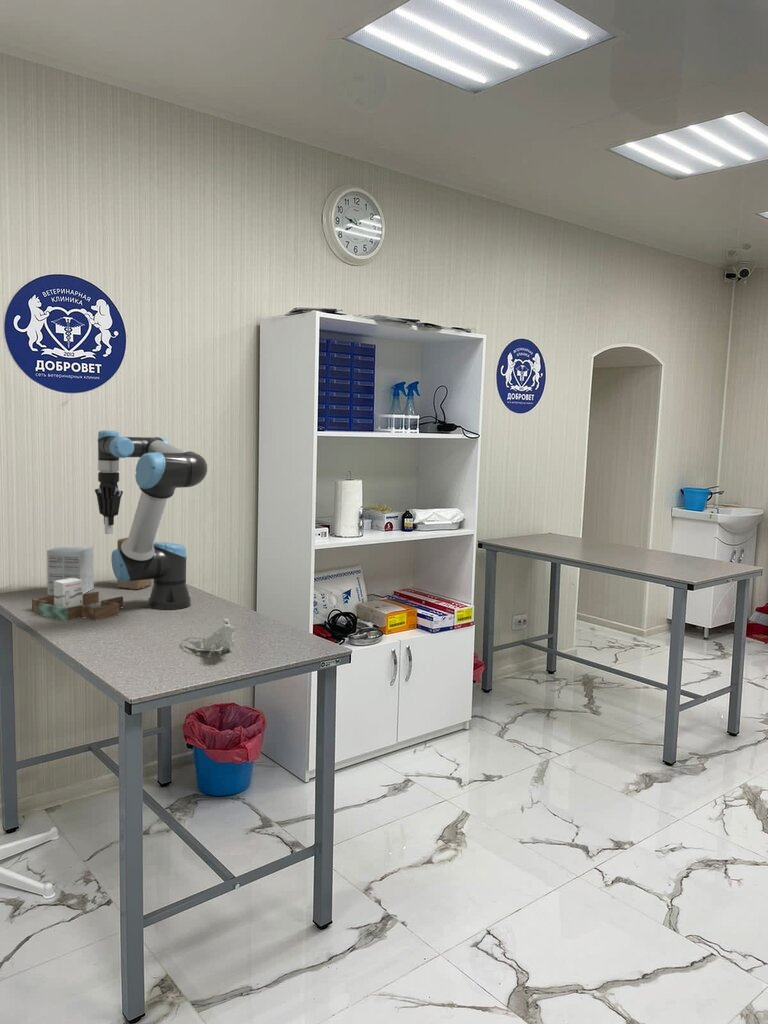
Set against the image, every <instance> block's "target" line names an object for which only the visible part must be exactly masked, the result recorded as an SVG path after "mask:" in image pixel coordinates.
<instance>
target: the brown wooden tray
mask: <svg viewBox="0 0 768 1024" xmlns="http://www.w3.org/2000/svg"><path fill="white" fill-rule="evenodd" d="M99 593H100V592H99V591H94V592H92V591H91V592H88V593H86V594H83V605H78V606H74V607H69V608H63V607H59V606H54V595H47V596H41V597H36V598H32V599H31V611H33V610H36V611H35V612H38V611H39V612H38V615H39V614H41V615H40V616H43V615H45V616H44V617H47V616H48V618H51V617H53V618H52V619H56V618H57V620H60V619H61V621H64V620H67V621H70V619H71V620H75V619H79V618H78V617H80V618H83V617H86V618H85V619H88V618H90V619H89V620H92V619H94V620H93V621H97V620H96V619H99V620H102V619H101V618H103V619H106V618H105V617H107V618H110V617H109V616H111V617H114V615H115V616H119V615H120V609H122V608H121V607H123V608H124V596H118V597H112V598H107V599H102V600H100V594H99ZM96 602H100V606H98V607H96V606H95V607H94V606H91V605H92V604H91V603H94V604H97V603H96ZM87 604H89V605H87ZM118 614H119V615H118ZM74 618H75V619H74Z"/></svg>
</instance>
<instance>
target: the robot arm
mask: <svg viewBox="0 0 768 1024" xmlns="http://www.w3.org/2000/svg"><path fill="white" fill-rule="evenodd" d="M97 458H98V459H97V470H98V471H99V472H98V474H97V482H99V483H100V484H99V487H98V488H95V489H94V492H95V495H96V499H97V505H98V506H97V507H98V512H99V514H100V515H102V516H103V524H104V534H105V535H111V534H112V535H113V534H114V524H115V519H114V518H115V517H116V516H118V515H119V512H120V510H119V509H120V505H121V500H122V499H121V498H122V495H123V493H124V491H123V490H120V489H119V486H118V483H119V482H120V472H119V471H120V459H124V458H138V460H137V463H136V465H135V466H136V467H135V475H134V476H135V482H136V484H137V486H138V488H139V490H140V491H141V493H140V497H139V500H138V502H137V503H138V504H137V507H136V510H135V514H134V517H133V520H132V524H131V527H130V530H129V531H130V532H129V534H128V536H127V538H128V539H126V540H125V541H124V542H123V543H122V545H121V549H118V548H116V549H114V550H112V552H111V559H110V562H111V567H112V572H113V574H114V577H115V579H116V580H117V582H118V581H120V582H131V581H140V580H148V579H151V580H153V584H152V589H151V591H150V597H148V607H149V608H151V609H155V610H177V609H179V610H181V609H185V608H188V607H190V606H191V605H192V603H191V601H192V600H191V599H192V598H191V596H190V593H189V590H188V586H187V548H186V547H185V545H183V544H179V543H173V542H165V541H164V542H163V541H157V542H156V541H155V540H156V539H155V538H156V536H157V532H158V529H159V526H160V523H161V521H162V517H163V513H164V510H165V507H166V504H167V501H168V499H170V498H172V497H173V496H174V493H175V490H176V488H178V489H179V488H191V487H195V486H197V485H199V484H200V483H202V481H204V479H205V477H206V476H207V474H208V464H207V461H206V460H205V458H204V457H203V456H202V455H200V454H199V453H197V452H194V451H191V450H189V451H184V450H183V449H180V448H178V447H176V446H174V445H171V444H170V443H169V441H168V439H167V438H165V437H161V436H155V437H152V436H149V437H147V436H146V437H145V436H144V437H142V436H120V433H119V431H117V430H99V431H98V432H97Z"/></svg>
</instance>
